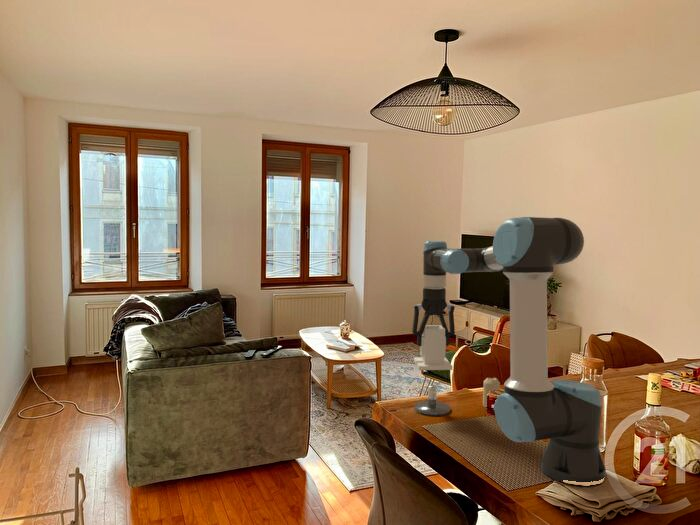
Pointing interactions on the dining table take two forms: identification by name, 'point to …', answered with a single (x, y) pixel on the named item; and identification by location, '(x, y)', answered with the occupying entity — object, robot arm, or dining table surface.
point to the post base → (432, 411)
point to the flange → (433, 350)
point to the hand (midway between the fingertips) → (432, 355)
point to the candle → (489, 388)
